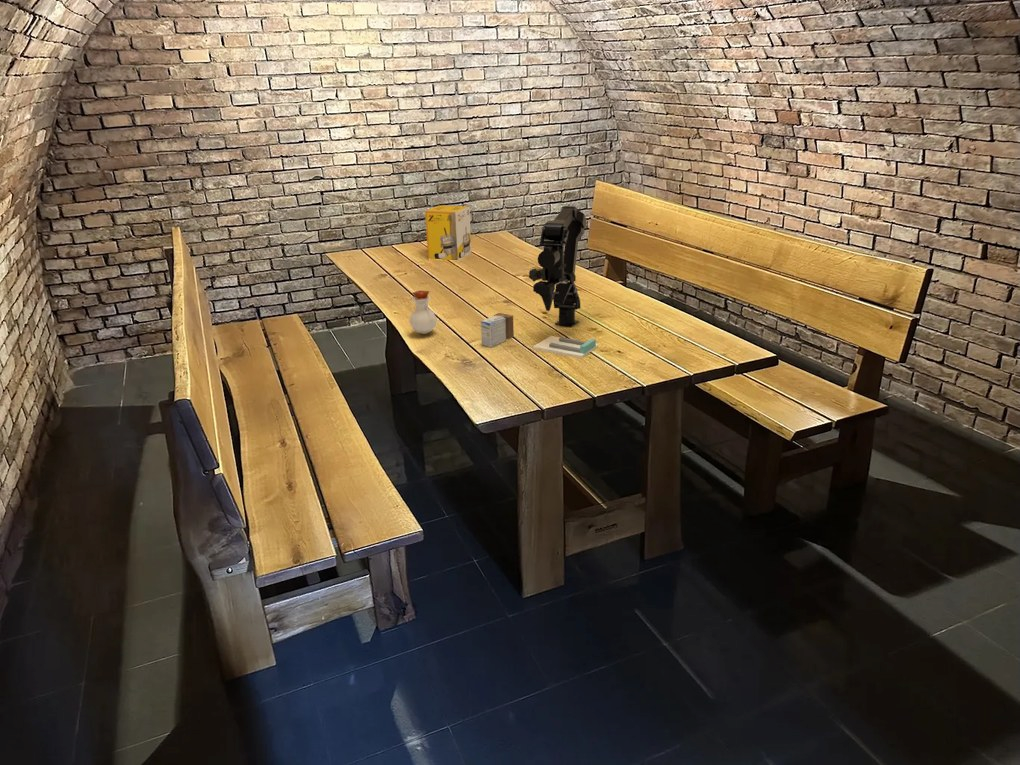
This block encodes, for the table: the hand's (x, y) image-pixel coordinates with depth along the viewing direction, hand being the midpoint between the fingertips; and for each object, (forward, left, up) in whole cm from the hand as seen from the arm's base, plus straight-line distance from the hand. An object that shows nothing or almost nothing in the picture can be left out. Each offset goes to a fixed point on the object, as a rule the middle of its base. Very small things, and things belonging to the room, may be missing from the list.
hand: (554, 307), depth 244 cm
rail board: (+5, +7, -12) cm, 15 cm away
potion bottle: (+16, -45, -12) cm, 49 cm away
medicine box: (+12, -17, -12) cm, 24 cm away
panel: (+5, -20, -8) cm, 23 cm away
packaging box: (-81, -105, -12) cm, 133 cm away
